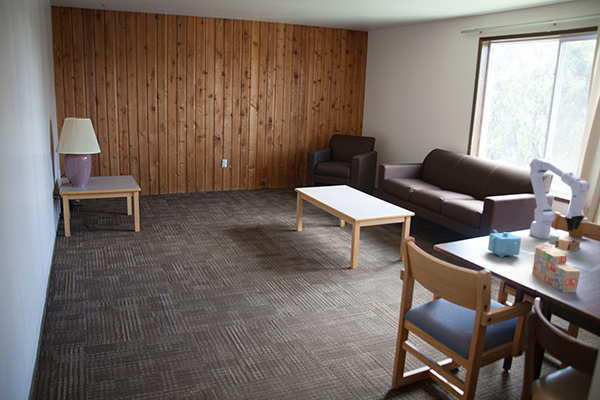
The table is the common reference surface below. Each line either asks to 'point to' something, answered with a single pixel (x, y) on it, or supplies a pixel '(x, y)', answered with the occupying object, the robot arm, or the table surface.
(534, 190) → the robot arm
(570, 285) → the stack of blocks
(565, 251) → the deck
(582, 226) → the disposable coffee cup
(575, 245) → the walnut cubby
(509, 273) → the table surface
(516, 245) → the teapot
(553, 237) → the white block
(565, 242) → the terracotta cube
